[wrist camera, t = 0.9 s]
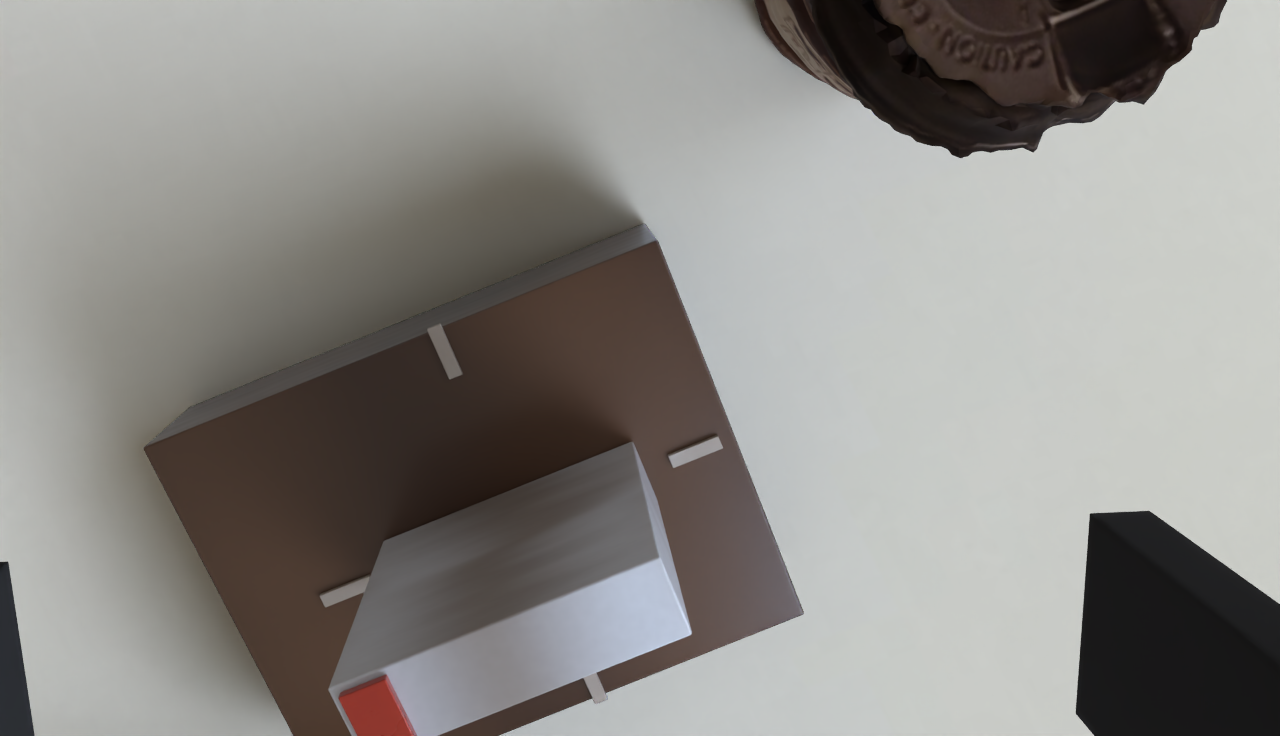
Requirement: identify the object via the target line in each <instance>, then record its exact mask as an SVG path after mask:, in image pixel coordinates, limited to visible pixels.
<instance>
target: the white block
mask: <svg viewBox="0 0 1280 736" xmlns="http://www.w3.org/2000/svg"><path fill="white" fill-rule="evenodd" d="M691 634H692V631H691V627H690V623H689V619H688V616H687V612H686V608H685V604H684V600H683V596H682V593H681V589H680V585H679V581H678V577H677V574H676V570H675V566H674V562H673V558H672V554H671V551H670V547H669V543H668V539H667V535H666V531H665V528H664V524H663V520H662V516H661V512H660V509H659V505H658V501H657V498H656V496H655V493H654V491H653V489H652V486H651V484H650V481H649V479H648V477H647V474H646V472H645V469H644V467H643V464H642V462H641V460H640V457H639V455H638V452H637V450H636V448H635V445H634V443H633V442H629V443H627V444H624V445H622V446H619V447H617V448H614V449H612V450H609V451H607V452H604V453H602V454H599V455H597V456H594V457H592V458H589V459H587V460H584V461H582V462H579V463H577V464H574V465H572V466H569V467H567V468H564V469H562V470H559V471H557V472H554V473H552V474H549V475H547V476H544V477H542V478H539V479H537V480H534V481H532V482H529V483H527V484H525V485H522V486H520V487H517V488H515V489H512V490H510V491H507V492H505V493H502V494H500V495H497V496H495V497H492V498H490V499H487V500H485V501H482V502H480V503H477V504H475V505H472V506H470V507H467V508H465V509H462V510H460V511H457V512H455V513H452V514H450V515H447V516H445V517H442V518H440V519H437V520H435V521H432V522H430V523H427V524H425V525H422V526H420V527H417V528H415V529H412V530H410V531H407V532H405V533H402V534H400V535H397V536H395V537H392V538H390V539H387V540H385V541H384V542H383V544H382V546H381V549H380V552H379V555H378V557H377V560H376V563H375V565H374V568H373V571H372V573H371V576H370V579H369V581H368V584H367V587H366V589H365V592H364V595H363V597H362V600H361V603H360V605H359V608H358V611H357V613H356V616H355V619H354V622H353V624H352V627H351V630H350V632H349V635H348V638H347V640H346V643H345V646H344V648H343V651H342V654H341V656H340V659H339V662H338V664H337V667H336V670H335V672H334V675H333V678H332V680H331V683H330V686H329V688H328V689H329V692H330V694H331V696H332V698H333V700H334V702H335V704H336V706H337V708H338V710H339V712H340V714H341V716H342V718H343V720H344V722H345V724H346V726H347V728H348V730H349V732H350V734H351V736H438V735H441V734H443V733H446V732H448V731H451V730H453V729H456V728H458V727H461V726H463V725H466V724H468V723H471V722H473V721H476V720H478V719H481V718H483V717H486V716H488V715H491V714H493V713H496V712H498V711H501V710H503V709H506V708H508V707H511V706H513V705H516V704H519V703H521V702H524V701H526V700H529V699H531V698H534V697H536V696H539V695H541V694H544V693H546V692H549V691H551V690H554V689H556V688H559V687H561V686H564V685H566V684H569V683H571V682H574V681H576V680H579V679H581V678H584V677H586V676H589V675H591V674H594V673H596V672H599V671H601V670H604V669H606V668H609V667H611V666H614V665H616V664H619V663H622V662H624V661H627V660H629V659H632V658H634V657H637V656H639V655H642V654H644V653H647V652H649V651H652V650H654V649H657V648H659V647H662V646H664V645H667V644H669V643H672V642H674V641H677V640H679V639H682V638H684V637H687V636H689V635H691Z"/></svg>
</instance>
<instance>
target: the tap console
mask: <svg viewBox="0 0 1280 736" xmlns="http://www.w3.org/2000/svg"><path fill="white" fill-rule="evenodd" d="M629 442H633V443H634V445H635V448H636V450H637V452H638V455H639V457H640V460H641V462H642V464H643V467H644V469H645V472H646V474H647V477H648V479H649V481H650V484H651V486H652V489H653V491H654V493H655V496H656V498H657V501H658V505H659V509H660V512H661V516H662V520H663V524H664V528H665V531H666V535H667V539H668V543H669V547H670V551H671V554H672V558H673V562H674V566H675V570H676V574H677V577H678V581H679V585H680V589H681V593H682V596H683V600H684V604H685V608H686V612H687V616H688V619H689V623H690V627H691V631H692V634H691V635H689V636H687V637H684V638H682V639H679V640H677V641H674V642H672V643H669V644H667V645H664V646H662V647H659V648H657V649H654V650H652V651H649V652H647V653H644V654H642V655H639V656H637V657H634V658H632V659H629V660H627V661H624V662H622V663H619V664H616V665H614V666H611V667H609V668H606V669H604V670H601V671H599V672H596V673H594V674H591V675H589V676H586V677H584V678H581V679H579V680H576V681H574V682H571V683H569V684H566V685H564V686H561V687H559V688H556V689H554V690H551V691H549V692H546V693H544V694H541V695H539V696H536V697H534V698H531V699H529V700H526V701H524V702H521V703H519V704H516V705H513V706H511V707H508V708H506V709H503V710H501V711H498V712H496V713H493V714H491V715H488V716H486V717H483V718H481V719H478V720H476V721H473V722H471V723H468V724H466V725H463V726H461V727H458V728H456V729H453V730H451V731H448V732H446V733H443V734H441V735H438V736H499V735H501V734H504V733H506V732H509V731H511V730H514V729H516V728H519V727H521V726H524V725H526V724H529V723H531V722H534V721H536V720H539V719H541V718H544V717H546V716H549V715H551V714H554V713H556V712H559V711H561V710H564V709H567V708H569V707H572V706H574V705H577V704H579V703H582V702H584V701H587V700H589V699H592V698H593V701H594V703H595V704H597V703H600V702H603V701H605V700H607V696H606V693H607V692H609V691H612V690H614V689H617V688H619V687H622V686H624V685H627V684H629V683H632V682H634V681H637V680H639V679H642V678H644V677H647V676H650V675H652V674H655V673H657V672H660V671H662V670H665V669H667V668H670V667H672V666H675V665H677V664H680V663H682V662H685V661H687V660H690V659H692V658H695V657H697V656H700V655H702V654H705V653H707V652H710V651H712V650H715V649H717V648H720V647H722V646H725V645H727V644H730V643H732V642H735V641H738V640H740V639H743V638H745V637H748V636H750V635H753V634H755V633H758V632H760V631H763V630H765V629H768V628H770V627H773V626H775V625H778V624H780V623H783V622H785V621H788V620H790V619H793V618H795V617H798V616H800V615H803V609H802V607H801V604H800V602H799V599H798V596H797V594H796V591H795V589H794V586H793V584H792V581H791V579H790V576H789V574H788V571H787V568H786V566H785V563H784V561H783V558H782V556H781V553H780V551H779V548H778V545H777V543H776V540H775V538H774V535H773V533H772V530H771V528H770V525H769V523H768V520H767V517H766V515H765V512H764V510H763V507H762V505H761V502H760V500H759V497H758V494H757V492H756V489H755V487H754V484H753V482H752V479H751V477H750V474H749V472H748V469H747V466H746V464H745V461H744V459H743V456H742V454H741V451H740V449H739V446H738V444H737V441H736V438H735V436H734V433H733V431H732V428H731V426H730V423H729V421H728V418H727V415H726V413H725V410H724V408H723V405H722V403H721V400H720V398H719V395H718V393H717V390H716V387H715V385H714V382H713V380H712V377H711V375H710V372H709V370H708V367H707V364H706V362H705V359H704V357H703V354H702V352H701V349H700V347H699V344H698V342H697V339H696V336H695V334H694V331H693V329H692V326H691V324H690V321H689V319H688V316H687V313H686V311H685V308H684V306H683V303H682V301H681V298H680V296H679V293H678V291H677V288H676V285H675V283H674V280H673V278H672V275H671V273H670V270H669V268H668V265H667V263H666V260H665V257H664V255H663V252H662V250H661V247H660V245H659V242H658V240H657V239H656V238H655V236H654V235H653V234H652V232H651V231H650V229H649V228H648V227H647V225H646V224H642V225H639V226H637V227H634V228H632V229H629V230H627V231H624V232H622V233H619V234H617V235H614V236H612V237H609V238H607V239H604V240H602V241H600V242H597V243H595V244H592V245H590V246H587V247H585V248H582V249H580V250H577V251H575V252H572V253H570V254H567V255H565V256H562V257H560V258H558V259H555V260H553V261H550V262H548V263H545V264H543V265H540V266H538V267H535V268H533V269H530V270H528V271H525V272H523V273H520V274H518V275H515V276H513V277H511V278H508V279H506V280H503V281H501V282H498V283H496V284H493V285H491V286H488V287H486V288H483V289H481V290H478V291H476V292H473V293H471V294H468V295H466V296H464V297H461V298H459V299H456V300H454V301H451V302H449V303H446V304H444V305H441V306H439V307H436V308H434V309H431V310H429V311H426V312H424V313H422V314H419V315H417V316H414V317H412V318H409V319H407V320H404V321H402V322H399V323H397V324H394V325H392V326H389V327H387V328H384V329H382V330H379V331H377V332H375V333H372V334H370V335H367V336H365V337H362V338H360V339H357V340H355V341H352V342H350V343H347V344H345V345H342V346H340V347H337V348H335V349H332V350H330V351H328V352H325V353H323V354H320V355H318V356H315V357H313V358H310V359H308V360H305V361H303V362H300V363H298V364H295V365H293V366H290V367H288V368H285V369H283V370H281V371H278V372H276V373H273V374H271V375H268V376H266V377H263V378H261V379H258V380H256V381H253V382H251V383H248V384H246V385H243V386H241V387H239V388H236V389H234V390H231V391H229V392H226V393H224V394H221V395H219V396H216V397H214V398H211V399H209V400H206V401H204V402H201V403H199V404H196V405H194V406H192V407H189V408H188V409H187V410H186V411H185V412H184V413H183V414H181V415H180V416H179V417H178V418H177V419H176V420H175V421H173V422H172V423H171V424H170V425H169V426H168V427H166V428H165V429H164V430H163V431H162V432H161V433H160V434H158V435H157V436H156V437H155V438H154V439H153V440H152V441H150V442H149V443H148V444H147V445H146V446H145V447H144V451H145V453H146V455H147V457H148V458H149V460H150V462H151V464H152V466H153V468H154V470H155V472H156V474H157V476H158V478H159V480H160V481H161V483H162V485H163V487H164V489H165V491H166V493H167V495H168V497H169V499H170V501H171V502H172V504H173V506H174V508H175V510H176V512H177V514H178V516H179V518H180V520H181V522H182V523H183V525H184V527H185V529H186V531H187V533H188V535H189V537H190V539H191V541H192V543H193V544H194V546H195V548H196V550H197V552H198V554H199V556H200V558H201V560H202V562H203V564H204V566H205V567H206V569H207V571H208V573H209V575H210V577H211V579H212V581H213V583H214V585H215V587H216V588H217V590H218V592H219V594H220V596H221V598H222V600H223V602H224V604H225V606H226V608H227V609H228V611H229V613H230V615H231V617H232V619H233V621H234V623H235V625H236V627H237V629H238V630H239V632H240V634H241V636H242V638H243V640H244V642H245V644H246V646H247V648H248V650H249V651H250V653H251V655H252V657H253V659H254V661H255V663H256V665H257V667H258V669H259V671H260V673H261V674H262V676H263V678H264V680H265V682H266V684H267V686H268V688H269V690H270V692H271V694H272V695H273V697H274V699H275V701H276V703H277V705H278V707H279V709H280V711H281V713H282V715H283V716H284V718H285V720H286V722H287V724H288V726H289V728H290V730H291V732H292V734H293V736H351V734H350V732H349V730H348V728H347V726H346V724H345V722H344V720H343V718H342V716H341V714H340V712H339V710H338V708H337V706H336V704H335V702H334V700H333V698H332V696H331V694H330V692H329V689H328V688H329V686H330V683H331V680H332V678H333V675H334V672H335V670H336V667H337V664H338V662H339V659H340V656H341V654H342V651H343V648H344V646H345V643H346V640H347V638H348V635H349V632H350V630H351V627H352V624H353V622H354V619H355V616H356V613H357V611H358V608H359V605H360V603H361V600H362V597H363V595H364V592H365V589H366V587H367V584H368V581H369V579H370V576H371V573H372V571H373V568H374V565H375V563H376V560H377V557H378V555H379V552H380V549H381V546H382V544H383V542H384V541H385V540H387V539H390V538H392V537H395V536H397V535H400V534H402V533H405V532H407V531H410V530H412V529H415V528H417V527H420V526H422V525H425V524H427V523H430V522H432V521H435V520H437V519H440V518H442V517H445V516H447V515H450V514H452V513H455V512H457V511H460V510H462V509H465V508H467V507H470V506H472V505H475V504H477V503H480V502H482V501H485V500H487V499H490V498H492V497H495V496H497V495H500V494H502V493H505V492H507V491H510V490H512V489H515V488H517V487H520V486H522V485H525V484H527V483H529V482H532V481H534V480H537V479H539V478H542V477H544V476H547V475H549V474H552V473H554V472H557V471H559V470H562V469H564V468H567V467H569V466H572V465H574V464H577V463H579V462H582V461H584V460H587V459H589V458H592V457H594V456H597V455H599V454H602V453H604V452H607V451H609V450H612V449H614V448H617V447H619V446H622V445H624V444H627V443H629Z"/></svg>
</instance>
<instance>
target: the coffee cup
mask: <svg viewBox="0 0 1280 736" xmlns="http://www.w3.org/2000/svg"><path fill="white" fill-rule="evenodd" d="M754 1H755V4H756V8H757V11H758V15H759V18H760V22H761V25H762V27H763V29H764V31H765V33H766V35H767V36H768V37H769V39H770V40H771V42H772V43H773V44H774V45H775V47H776V48H777V49H778V50H779V51H780V53H781V54H782V55H783V56H785V57H786V58H788V59H789V60H790V61H791V62H793V63H794V64H795V65H797V66H798V67H800V68H801V69H803V70H804V71H805V72H807V73H808V74H810V75H812V76H814V77H815V78H817V79H818V80H821V81H823V82H825V83H827V84H829V85H830V86H832V87H833V88H835V89H836V90H838V91H840V92H842V93H843V94H845V95H847V96H849V97H852V98H854V99H857V100H859V101H860V102H861V103H862V105H863V106H864V107H866V108H868V109H871V110H872V112H873V113H874V114H875V116H877V117H878V118H879V119H881V120H882V121H884V122H886V123H888V124H890V125H891V127H892V128H893V129H894V130H896V131H898V132H900V133H902V134H905V135H908V136H911V137H912V138H913V139H914V140H915V141H917V142H920V143H923V144H927V145H931V146H942V147H944V148H946V149H948V150H949V151H950V153H951V154H952V155H954V156H956V157H959V158H963V157H966V156H969V155H970V154H971V153H972V152H977V151H985V152H990V153H991V152H995V151H998V150H1013V149H1017V148H1025V149H1027V150H1029V151H1031V152H1034V151H1035V150H1036V149H1037V147H1038V144H1039V141H1040V139H1041V136H1042V134H1043V132H1044V131H1045V130H1047V129H1048V128H1050V127H1052V126H1056V125H1061V124H1065V123H1087V122H1092V121H1094V120H1095V119H1097V118H1098V117H1100V116H1101V115H1102V114H1103V113H1104V112H1105V111H1106V110H1107V109H1108V108H1109V107H1110V106H1111V105H1112V104H1113V103H1114V102H1115V101H1117V102H1119V103H1125V102H1131V101H1133V102H1137V103H1141V104H1145V102H1146V101H1147V100H1148V99H1149V98H1150V97H1151V96H1152V95H1153V94H1154V93H1155V91H1156V90H1157V88H1158V86H1159V84H1160V83H1161V81H1162V79H1163V76H1164V74H1165V72H1166V70H1168V69H1169V68H1170V67H1171V66H1172V65H1174V64H1176V63H1177V62H1179V61H1180V60H1182V59H1183V58H1184V57H1185V56H1186V55H1187V54H1188V53H1189V52H1190V51H1191V50H1192V43H1193V40H1194V38H1195V37H1197V36H1198V34H1199V32H1200V30H1204V29H1208V28H1212V27H1214V26H1215V25H1216V24H1217V23H1218V22H1219V18H1220V14H1221V12H1222V10H1223V8H1224V6H1225V4H1226V2H1227V0H754Z"/></svg>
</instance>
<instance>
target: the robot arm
mask: <svg viewBox="0 0 1280 736" xmlns="http://www.w3.org/2000/svg"><path fill="white" fill-rule="evenodd" d="M1076 714H1077V715H1078V717H1079V718H1080V719H1081V720H1082V721H1083V723H1084V724H1085V725H1086V726H1087V727H1088V729H1089V730H1090V731H1091V732H1092V733H1093V735H1094V736H1280V604H1279V603H1277V602H1276V601H1274V600H1273V599H1272V598H1270V597H1269V596H1267V595H1266V594H1265V593H1263V592H1262V591H1260V590H1259V589H1258V588H1256V587H1255V586H1253V585H1252V584H1251V583H1249V582H1248V581H1246V580H1245V579H1244V578H1242V577H1241V576H1239V575H1238V574H1237V573H1235V572H1234V571H1232V570H1231V569H1230V568H1228V567H1227V566H1225V565H1224V564H1223V563H1221V562H1220V561H1219V560H1217V559H1216V558H1214V557H1213V556H1212V555H1210V554H1209V553H1207V552H1206V551H1205V550H1203V549H1202V548H1200V547H1199V546H1198V545H1196V544H1195V543H1193V542H1192V541H1191V540H1189V539H1188V538H1186V537H1185V536H1184V535H1182V534H1181V533H1179V532H1178V531H1177V530H1175V529H1174V528H1172V527H1171V526H1170V525H1168V524H1167V523H1165V522H1164V521H1163V520H1161V519H1160V518H1158V517H1157V516H1156V515H1154V514H1153V513H1152V512H1150V511H1138V512H1115V513H1093V514H1090V521H1089V535H1088V549H1087V563H1086V577H1085V591H1084V605H1083V619H1082V633H1081V647H1080V661H1079V675H1078V689H1077V703H1076ZM0 736H34V729H33V723H32V716H31V709H30V703H29V696H28V690H27V683H26V676H25V670H24V663H23V657H22V650H21V644H20V637H19V630H18V624H17V617H16V611H15V604H14V597H13V591H12V584H11V578H10V571H9V564H8V562H0Z"/></svg>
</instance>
